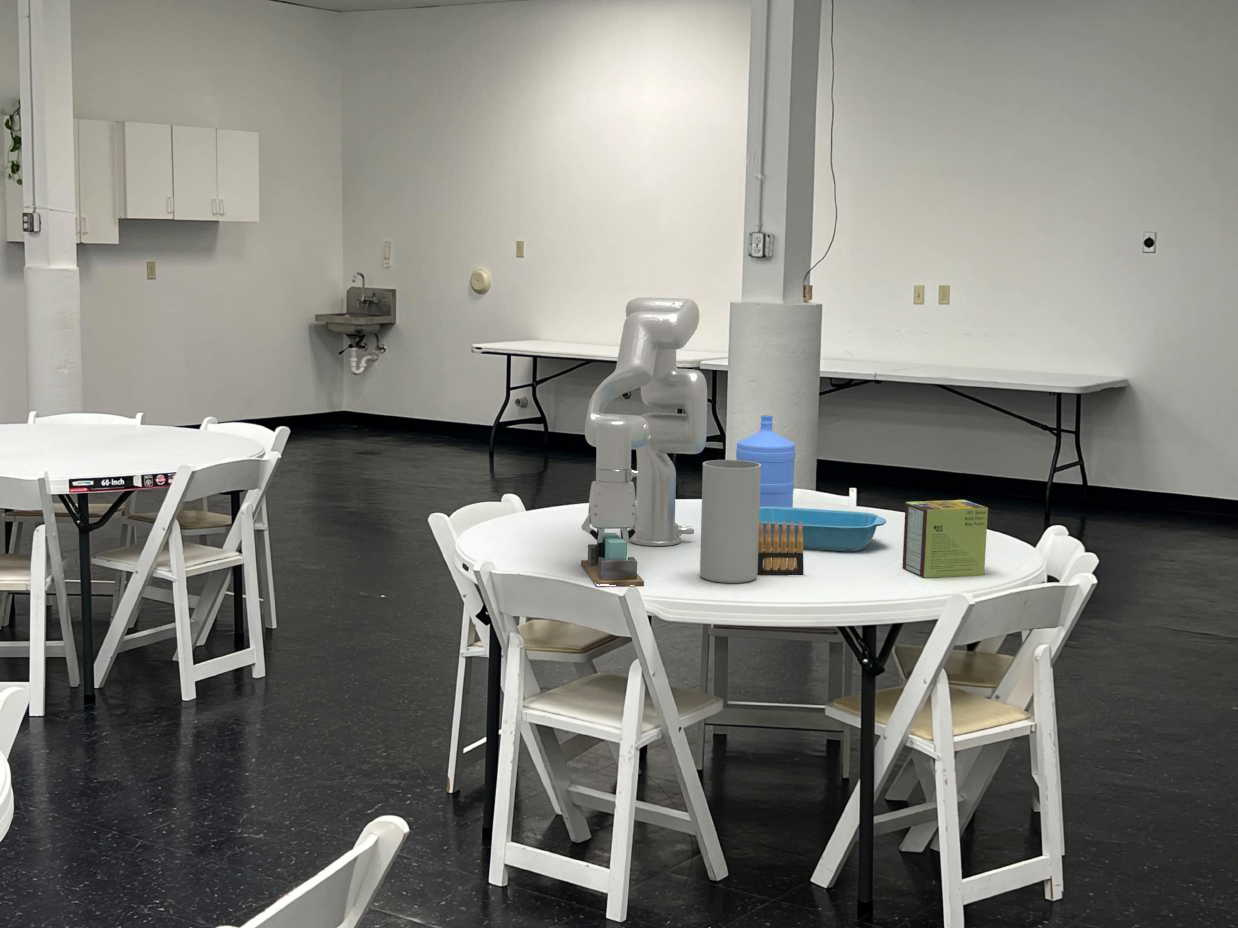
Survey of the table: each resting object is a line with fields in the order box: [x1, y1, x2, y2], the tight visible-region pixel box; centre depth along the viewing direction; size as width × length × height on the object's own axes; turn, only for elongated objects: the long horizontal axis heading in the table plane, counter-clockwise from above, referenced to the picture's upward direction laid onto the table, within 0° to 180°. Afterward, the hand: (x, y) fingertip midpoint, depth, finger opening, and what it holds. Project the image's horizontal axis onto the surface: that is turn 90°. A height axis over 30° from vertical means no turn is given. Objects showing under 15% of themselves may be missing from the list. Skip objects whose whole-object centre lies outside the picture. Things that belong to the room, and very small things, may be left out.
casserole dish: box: [759, 507, 887, 552], centre depth 345 cm, size 37×22×7 cm, turn 73°
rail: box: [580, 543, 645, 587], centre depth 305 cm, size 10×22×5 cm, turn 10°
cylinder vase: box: [699, 459, 761, 584], centre depth 303 cm, size 12×12×25 cm
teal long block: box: [599, 532, 628, 560], centre depth 304 cm, size 4×14×6 cm, turn 10°
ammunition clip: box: [757, 521, 805, 576], centre depth 308 cm, size 11×2×12 cm, turn 94°
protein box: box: [902, 499, 989, 579], centre depth 314 cm, size 10×15×16 cm
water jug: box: [735, 414, 796, 508], centre depth 372 cm, size 16×16×28 cm
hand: (611, 558), depth 304 cm, fingers closed on teal long block, 3 cm apart
